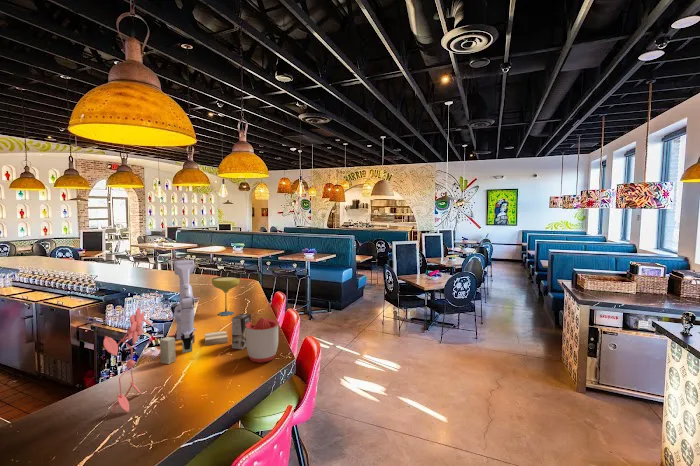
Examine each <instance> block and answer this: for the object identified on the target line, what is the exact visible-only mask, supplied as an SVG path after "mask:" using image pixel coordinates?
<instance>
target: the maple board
mask: <svg viewBox="0 0 700 466" xmlns="http://www.w3.org/2000/svg"><path fill="white" fill-rule="evenodd" d="M204 343H205V345H206V346H212V344H213V345H219V344H226V343H228V332H227V331H226V330H222V331H213V332H205V333H204Z"/></svg>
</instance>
